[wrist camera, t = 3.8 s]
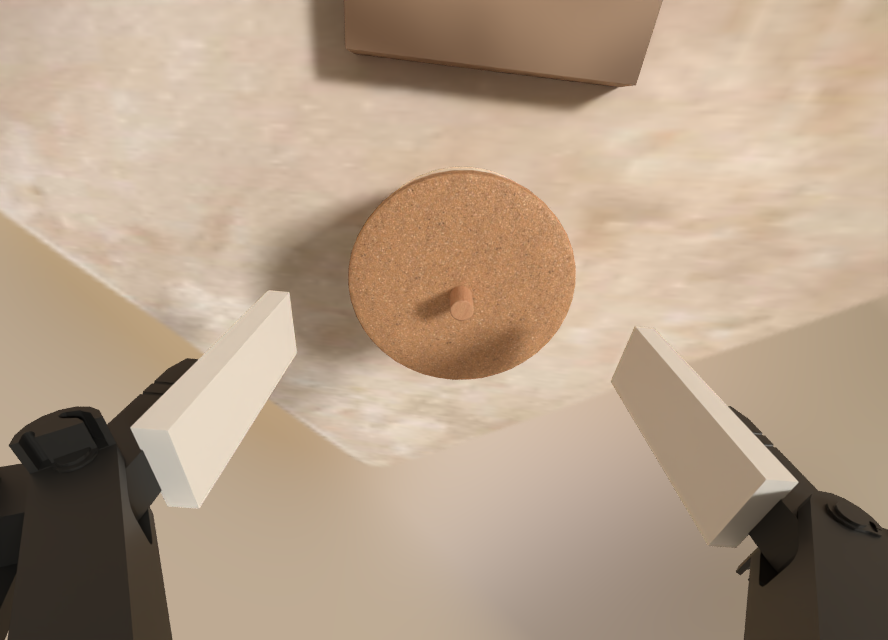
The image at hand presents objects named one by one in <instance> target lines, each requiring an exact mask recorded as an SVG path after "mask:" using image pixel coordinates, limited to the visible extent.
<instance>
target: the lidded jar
mask: <svg viewBox="0 0 888 640" xmlns="http://www.w3.org/2000/svg"><path fill="white" fill-rule="evenodd" d="M575 268H576V267H575V261H574V255H573V250H572V247H571V244H570V241H569V239H568V236H567V233H566V232H565V230H564V228H563V227H562V225H561V223H560V221H559V220H558V218H557V217H556V216H555V215H554V214H553V212H552V211H551V210H550V209H549V208H548V207H547V205H546V204H545V203H544V202H543V201H542V200H541V199H539V198H538V197H537V196H536V195H534V194H533V193H532V192H531V191H529V190H528V189H527V188H525V187H523V186H521V185H519V184H518V183H516V182H515V181H513V180H511V179H509V178H507V177H505V176H504V175H501V174H498V173H495V172H492V171H489V170H486V169H480V168H474V167H449V168H444V169H438V170H434V171H431V172H429V173H426V174H423V175H420V176H418V177H416V178H415V179H413V180H411V181H409V182H407V183H406V184H404V185H403V186H402V187H400V188H399V189H398V190H396V191H395V192H394V193H393V194H391V195H390V196H389V197H388V198H387V199H385V200H384V201H383V202H382V203H381V204H380V205H379V206H378V207H377V209H376V210H375V211H374V212H373V213H372V214H371V215H370V217H369V218H368V219H367V221H366V223H365V224H364V226H363V228H362V229H361V231H360V233H359V234H358V236H357V239H356V242H355V244H354V247H353V250H352V253H351V258H350V264H349V278H348V285H349V291H350V297H351V302H352V305H353V308H354V311H355V314H356V316H357V318H358V320H359V322H360V324H361V325H362V327H363V329H364V330H365V332H366V333H367V334H368V336H369V337H370V338H371V340H372V341H373V342H374V343H375V344H376V345H377V346H378V347H379V348H380V349H381V350H382V351H383V352H384V353H386V354H387V355H388V356H390V357H391V358H392V359H394V360H395V361H396V362H398V363H400V364H402V365H404V366H406V367H407V368H409V369H412V370H414V371H417V372H419V373H422V374H425V375H429V376H433V377H438V378H445V379H452V380H458V379H476V378H484V377H487V376H491V375H495V374H498V373H501V372H504V371H507V370H509V369H512V368H514V367H515V366H517V365H519V364H521V363H523V362H524V361H526V360H527V359H529V358H530V357H532V356H533V355H534V354H536V353H537V352H538V351H539V350H540V349H541V348H542V347H543V346H545V345H546V344H547V343H548V342H549V341H550V339H551V338H552V337H553V336H554V334H555V333H556V332H557V330H558V329H559V328H560V326H561V324H562V322H563V320H564V319H565V317H566V315H567V313H568V310H569V307H570V304H571V302H572V298H573V293H574V288H575Z"/></svg>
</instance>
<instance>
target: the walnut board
mask: <svg viewBox="0 0 888 640" xmlns="http://www.w3.org/2000/svg"><path fill="white" fill-rule="evenodd" d="M662 1H663V0H344V17H345V48H346V49H347V50H349V51H351V52H353V53H355V54H361V55H369V56H377V57H385V58H393V59H401V60H409V61H416V62H424V63H432V64H440V65H448V66H456V67H464V68H472V69H480V70H488V71H496V72H504V73H512V74H520V75H528V76H536V77H544V78H551V79H559V80H567V81H575V82H583V83H591V84H599V85H607V86H615V87H624V86H632V85H636V83H637V80H638V76H639V73H640V70H641V67H642V64H643V61H644V58H645V54H646V51H647V48H648V45H649V42H650V39H651V35H652V32H653V29H654V26H655V23H656V20H657V16H658V13H659V10H660V7H661V4H662Z"/></svg>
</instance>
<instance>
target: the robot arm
mask: <svg viewBox="0 0 888 640" xmlns="http://www.w3.org/2000/svg"><path fill="white" fill-rule="evenodd" d="M296 354H297V349H296V341H295V333H294V325H293V317H292V309H291V301H290V293H289V292H283V291H273V290H268V291H267V292H266V293H265V294H264V295H263V296H262V297H261V298H260V299H259V300H258V301H257V302H256V303H255V304H254V305H253V306H252V307H251V308H250V309H249V310H248V311H247V312H246V313H245V314H244V315H243V316H242V317H241V318H240V319H239V320H238V321H237V322H236V323H235V324H234V325H233V326H232V327H231V328H230V329H229V330H228V331H227V332H226V333H225V334H224V335H223V336H222V337H221V338H220V339H219V340H218V341H217V342H216V343H215V344H214V345H213V346H212V347H211V348H210V349H209V350H208V351H207V352H206V353H205V354H204V355H203V356H202V357H201V358H200V359H188V358H187V359H185V360H183V361H181V362H179V363H178V364H176V365H174V366H172V367H170V368H168V369H167V370H166V371H165V372H164V373H163V374H162V375H161V376H160V377H159V378H158V379H156V380H155V382H154V384H151V385H150V386H149V387H148V388H146V389H145V391H143V394H140V395H139V396H138V397H137V398H136V399H134V400H133V401H132V402H131V403H130V404H129V405H128V406H127V407H126V408H125V409H124V410H123V411H121V413H119V414H118V415H117V416H116V417H115V418H114V419H113V420H112V421H111V422H110V423H108V424H106V422H105V420H104V418H103V416H102V415H101V413H100V411H99V410H97V409H95V408H92V407H72V408H67V409H62V410H58V411H56V412H53V413H50V414H47V415H45V416H42V417H40V418H39V419H37V420H35V421H33V422H31V423H30V424H28V425H26V426H25V427H24V428H23V429H22V430H20V431H19V432H18V433H17V434H16V435H15V436H14V437H13V439H12V441H11V443H10V444H9V447H10V448H11V449H12V450H13V452H14V453H15V455H16V456H17V457H18V459H19V460H20V461H21V463H22V464H16V465H10V466H4V467H0V640H5V638H6V635H7V633H8V631H9V633H8V640H172V634H171V628H170V622H169V614H168V608H167V602H166V595H165V588H164V582H163V575H162V569H161V563H160V555H159V549H158V543H157V536H156V530H155V523H154V516H153V513H152V511H151V509H150V505H151V504H152V503H153V501H154V500H155V499H156V497H157V496H158V495H159V493H160V492H161V493H162V496H163V498H164V500H165V502H166V504H167V506H172V507H185V508H198V509H199V508H200V506H201V505H202V503H203V502H204V500H205V498H206V497H207V495H208V494H209V492H210V491H211V489H212V487H213V486H214V484H215V482H216V481H217V479H218V478H219V476H220V474H221V473H222V471H223V470H224V468H225V467H226V465H227V463H228V462H229V460H230V459H231V457H232V455H233V454H234V452H235V451H236V449H237V448H238V446H239V444H240V443H241V441H242V440H243V438H244V436H245V435H246V433H247V431H248V430H249V428H250V427H251V425H252V424H253V422H254V420H255V419H256V417H257V416H258V414H259V412H260V411H261V409H262V408H263V406H264V404H265V403H266V401H267V400H268V398H269V397H270V395H271V393H272V392H273V390H274V389H275V387H276V385H277V384H278V382H279V381H280V379H281V377H282V376H283V374H284V373H285V371H286V369H287V368H288V366H289V365H290V363H291V362H292V360H293V358H294V357H295V355H296ZM611 383H612V384H613V386H614V388H615V390H616V391H617V393H618V394H619V396H620V398H621V399H622V401H623V403H624V405H625V406H626V408H627V410H628V411H629V413H630V415H631V416H632V418H633V420H634V421H635V423H636V425H637V427H638V428H639V430H640V432H641V433H642V435H643V437H644V438H645V440H646V442H647V443H648V445H649V447H650V448H651V450H652V452H653V454H654V455H655V457H656V459H657V460H658V462H659V463H660V465H661V467H662V469H663V470H664V472H665V474H666V475H667V477H668V479H669V480H670V482H671V484H672V485H673V487H674V489H675V491H676V492H677V494H678V495H679V497H680V499H681V501H682V502H683V504H684V506H685V507H686V509H687V511H688V512H689V514H690V516H691V517H692V519H693V521H694V523H695V524H696V526H697V528H698V529H699V531H700V533H701V534H702V536H703V538H704V539H705V541H706V543H707V544H708V546H718V547H731V548H736V547H737V546H738V545H739V544H740V543H741V542H742V541H743V540H744V539H745V538H746V537H747V536H748V535H750V536H751V538H752V539H753V540H754V542H755V544H756V545H757V546H758V548H757V549H756V550H755V551H754V552H753V553H752V554H750V556H748V557H747V559H745V560H744V561H743V562H742V563H741V564H740V565H739V567H738V569H737V570H736V573H738V574H739V575H741V574H743V572H744V571H746V570H747V569H750V575H749V579H748V580H749V587H748V598H747V610H746V622H745V633H744V640H888V530H887V529H884V528H882V527H881V526H880V525H879V524H878V523H877V522H876V521H875V520H874V519H873V518H872V517H871V516H870V515H868V514H867V513H866V512H865V511H863V510H862V509H861V508H859V507H858V506H856V505H854V504H853V503H851V502H849V501H848V500H846V499H844V498H842V497H839V496H837V495H834V494H832V493H827V492H822V491H818V490H817V489H816V488H815V487H814V486H813V485H812V484H811V483H810V482H809V481H808V480H807V479H806V478H805V477H804V476H803V475H802V474H801V473H800V472H799V471H798V469H797V468H795V466H794V465H793V464H792V463H791V462H790V461H789V460H788V459H787V458H786V457H785V456H784V455H783V454H782V453H781V452H780V451H779V450H778V449H777V448H775V447H773V444H772V443H771V442H770V441H769V440H768V438H767V437H766V436H763V435H762V432H761V431H760V430H759V429H758V428H757V427H756V426H755V425H754V424H753V423H752V422H751V421H750V420H749V419H748V418H746V417H745V416H744V415H742V414H741V413H740V412H738V411H736V410H735V409H734V408H732V407H731V406H727V405H726V404H725V403H724V402H723V401H722V400H721V399H720V398H719V397H718V396H717V394H715V392H714V391H713V390H712V389H711V388H710V387H709V386H708V385H707V384H706V383H705V382H704V381H703V379H702V378H701V377H700V376H699V375H698V374H697V373H696V372H695V371H694V370H693V369H692V368H691V367H690V366H689V365H688V363H687V362H686V361H685V360H684V359H683V358H682V357H681V356H680V355H679V354H678V353H677V352H676V351H675V350H674V349H673V347H672V346H671V345H670V344H669V343H668V342H667V341H666V340H665V339H664V338H663V337H662V336H661V335H660V334H659V333H658V331H657V330H656V329H655V328H649V327H639V326H635V327H634V329H633V332H632V334H631V336H630V339H629V341H628V343H627V345H626V348H625V350H624V352H623V355H622V357H621V359H620V361H619V364H618V366H617V368H616V371H615V373H614V375H613V377H612V380H611Z"/></svg>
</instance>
